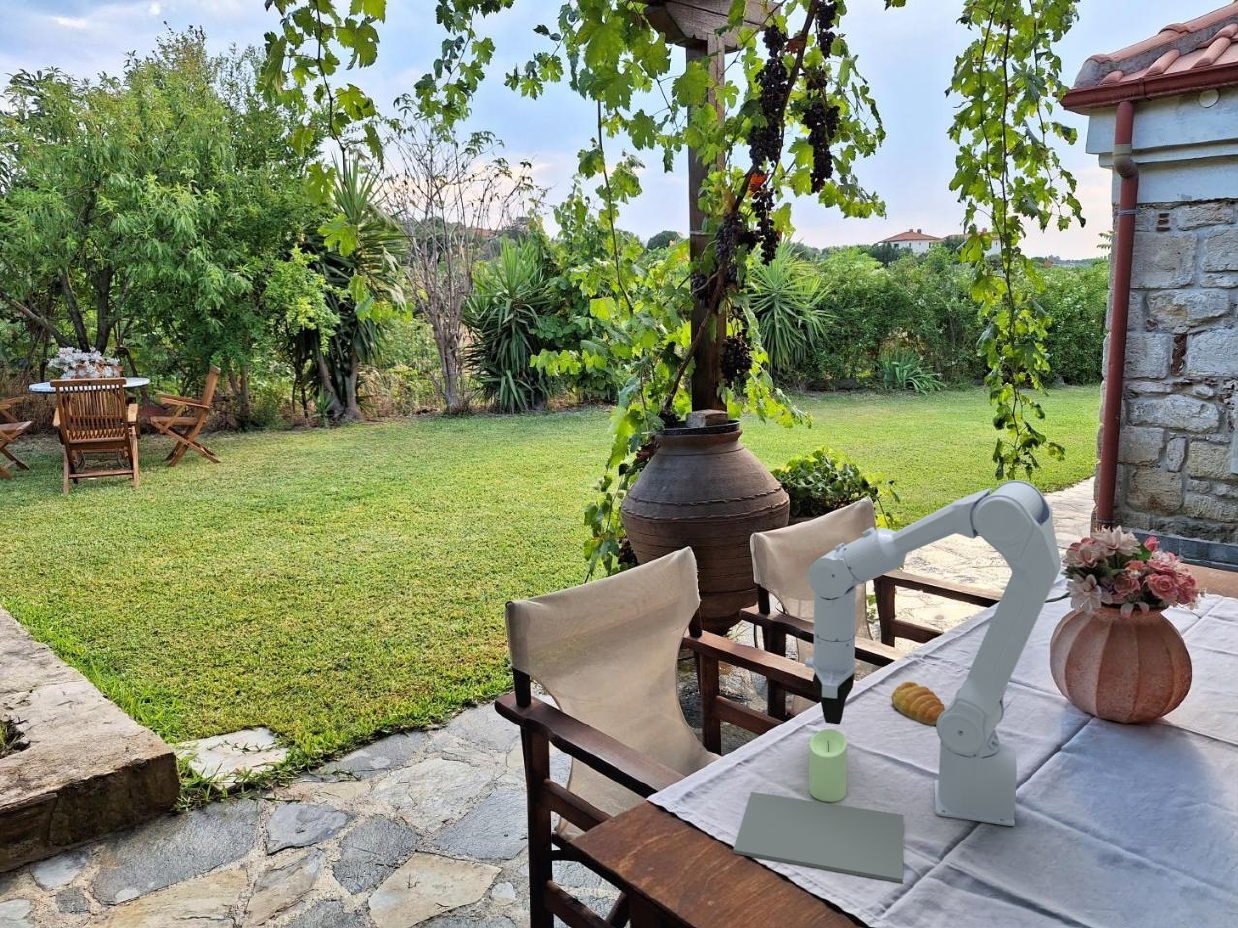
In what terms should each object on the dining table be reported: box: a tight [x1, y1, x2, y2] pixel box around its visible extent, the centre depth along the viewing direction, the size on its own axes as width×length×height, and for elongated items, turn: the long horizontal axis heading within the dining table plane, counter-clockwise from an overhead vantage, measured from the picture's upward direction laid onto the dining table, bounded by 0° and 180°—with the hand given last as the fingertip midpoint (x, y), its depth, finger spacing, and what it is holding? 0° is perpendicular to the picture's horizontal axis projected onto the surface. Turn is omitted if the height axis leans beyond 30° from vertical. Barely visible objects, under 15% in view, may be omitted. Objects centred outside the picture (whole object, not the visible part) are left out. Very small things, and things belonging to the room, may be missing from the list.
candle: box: [808, 728, 848, 803], centre depth 118 cm, size 5×5×8 cm
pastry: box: [890, 681, 946, 726], centre depth 139 cm, size 9×7×4 cm
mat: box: [733, 791, 905, 884], centre depth 109 cm, size 20×13×1 cm, turn 72°
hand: (832, 721), depth 125 cm, fingers closed
